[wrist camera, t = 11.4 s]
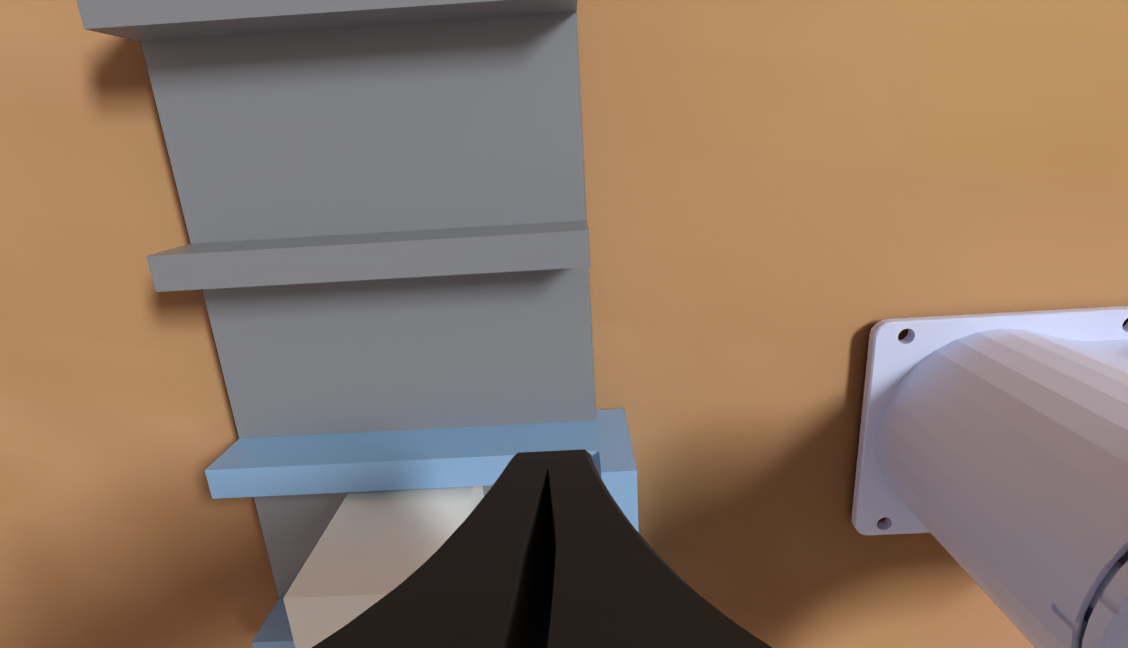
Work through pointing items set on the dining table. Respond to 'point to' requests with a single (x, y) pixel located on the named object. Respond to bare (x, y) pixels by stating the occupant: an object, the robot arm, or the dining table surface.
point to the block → (371, 554)
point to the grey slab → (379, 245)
